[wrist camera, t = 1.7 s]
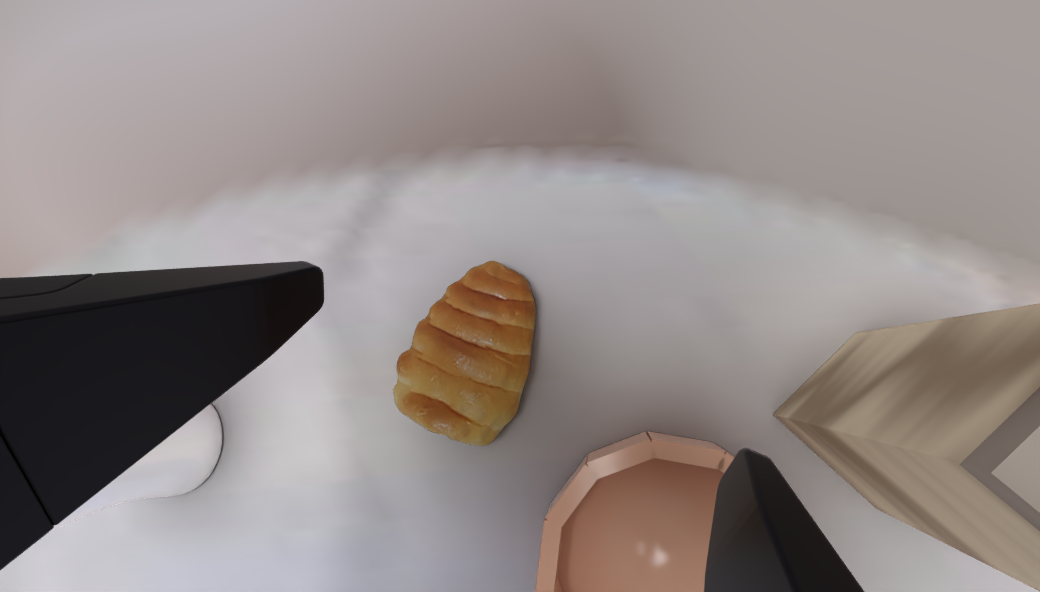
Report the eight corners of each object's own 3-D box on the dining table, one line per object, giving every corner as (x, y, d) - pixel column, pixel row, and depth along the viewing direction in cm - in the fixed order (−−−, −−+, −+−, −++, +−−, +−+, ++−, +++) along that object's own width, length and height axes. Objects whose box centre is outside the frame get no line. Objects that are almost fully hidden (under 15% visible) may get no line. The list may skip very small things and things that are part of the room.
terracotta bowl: (799, 742, 18) (829, 799, 16) (532, 662, 21) (522, 700, 18) (810, 458, 20) (838, 470, 17) (561, 417, 22) (556, 422, 20)
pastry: (462, 252, 25) (438, 233, 22) (568, 293, 24) (561, 279, 20) (397, 401, 25) (361, 407, 21) (502, 454, 23) (483, 470, 19)
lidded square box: (876, 513, 19) (1334, 754, 7) (767, 414, 20) (990, 472, 9) (971, 421, 19) (1602, 506, 7) (855, 328, 20) (1205, 266, 8)
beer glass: (205, 363, 27) (-247, 354, 13) (246, 462, 26) (-227, 580, 11) (123, 423, 28) (-403, 478, 13) (157, 524, 26) (-406, 713, 12)
